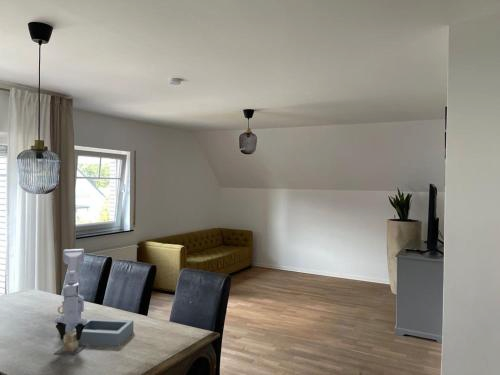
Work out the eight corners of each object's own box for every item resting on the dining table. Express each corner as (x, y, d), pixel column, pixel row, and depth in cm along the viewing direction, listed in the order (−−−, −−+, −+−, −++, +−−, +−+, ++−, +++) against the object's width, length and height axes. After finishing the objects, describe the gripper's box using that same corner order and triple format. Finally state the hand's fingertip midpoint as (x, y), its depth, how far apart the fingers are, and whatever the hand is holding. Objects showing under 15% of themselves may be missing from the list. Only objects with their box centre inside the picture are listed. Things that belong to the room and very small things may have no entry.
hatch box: (70, 343, 186) (71, 331, 186) (89, 329, 204) (89, 318, 204) (118, 346, 184) (118, 333, 184) (133, 331, 202) (133, 320, 202)
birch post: (63, 350, 177) (63, 335, 177) (69, 346, 182) (69, 331, 182) (72, 351, 177) (72, 336, 177) (78, 347, 181) (78, 332, 181)
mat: (53, 354, 175) (53, 353, 175) (66, 345, 185) (66, 344, 185) (74, 355, 174) (74, 354, 174) (86, 346, 184) (86, 345, 184)
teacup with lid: (74, 311, 232) (74, 292, 232) (81, 315, 226) (82, 295, 226) (53, 317, 223) (54, 297, 222) (61, 320, 217) (61, 300, 217)
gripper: (51, 312, 176) (50, 341, 176) (81, 313, 174) (80, 343, 174) (60, 307, 183) (59, 335, 183) (89, 308, 181) (88, 337, 181)
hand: (70, 339), depth 179 cm, fingers open, 7 cm apart
